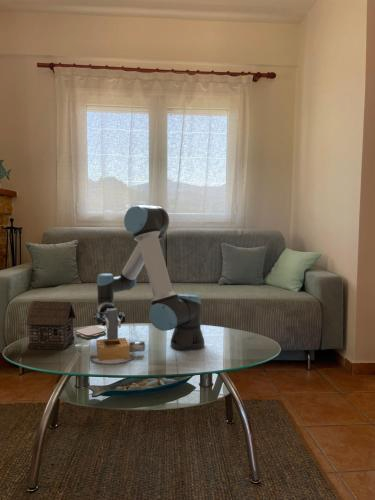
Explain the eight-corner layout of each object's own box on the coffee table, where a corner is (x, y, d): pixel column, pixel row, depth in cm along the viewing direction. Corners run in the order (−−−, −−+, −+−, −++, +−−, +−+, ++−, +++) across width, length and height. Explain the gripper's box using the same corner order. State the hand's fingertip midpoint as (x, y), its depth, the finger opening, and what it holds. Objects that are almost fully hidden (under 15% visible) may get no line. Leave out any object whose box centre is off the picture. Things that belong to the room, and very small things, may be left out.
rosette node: (140, 348, 185) (140, 334, 185) (148, 361, 168) (148, 346, 167) (88, 352, 179) (88, 338, 178) (91, 366, 162) (91, 351, 161)
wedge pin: (116, 336, 175) (116, 308, 174) (117, 339, 171) (117, 310, 170) (106, 337, 174) (106, 308, 173) (107, 340, 170) (107, 310, 169)
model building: (25, 349, 183) (24, 303, 181) (39, 340, 197) (38, 297, 196) (66, 350, 182) (65, 304, 180) (77, 340, 196) (76, 298, 194)
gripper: (126, 318, 192) (135, 332, 169) (88, 321, 187) (91, 335, 164) (126, 302, 191) (135, 314, 169) (88, 304, 186) (91, 316, 164)
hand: (113, 324), depth 167 cm, fingers closed on wedge pin, 4 cm apart
